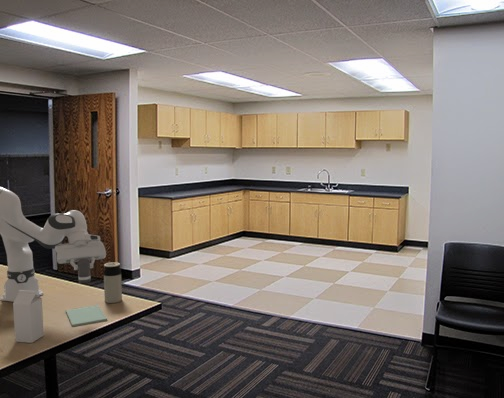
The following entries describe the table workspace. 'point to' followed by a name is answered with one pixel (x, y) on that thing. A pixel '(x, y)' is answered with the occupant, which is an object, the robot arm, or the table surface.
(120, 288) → the travel mug
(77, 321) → the sage green mat
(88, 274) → the cylinder
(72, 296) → the table surface
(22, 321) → the milk carton
